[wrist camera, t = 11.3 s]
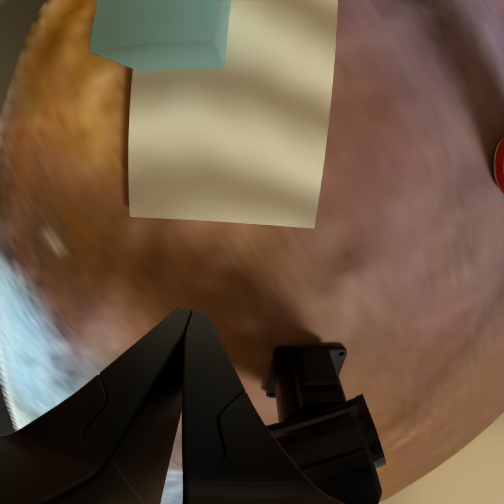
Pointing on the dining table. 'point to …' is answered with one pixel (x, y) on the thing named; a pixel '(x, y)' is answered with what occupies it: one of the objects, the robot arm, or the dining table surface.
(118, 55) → the teal rectangular block
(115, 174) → the dining table surface
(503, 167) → the beverage can
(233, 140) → the board
